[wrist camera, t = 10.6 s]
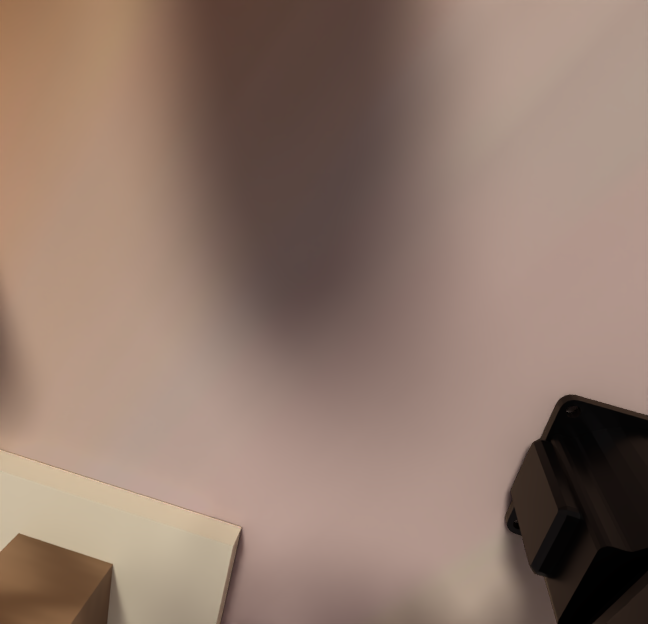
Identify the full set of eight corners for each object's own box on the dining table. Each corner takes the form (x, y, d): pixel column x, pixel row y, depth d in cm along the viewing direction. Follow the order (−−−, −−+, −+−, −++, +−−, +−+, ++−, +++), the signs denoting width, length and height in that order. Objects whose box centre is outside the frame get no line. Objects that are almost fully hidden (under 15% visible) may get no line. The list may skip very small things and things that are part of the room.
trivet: (241, 527, 24) (233, 546, 23) (205, 689, 29) (196, 712, 28) (-63, 429, 26) (-85, 443, 25) (-54, 599, 30) (-72, 617, 29)
